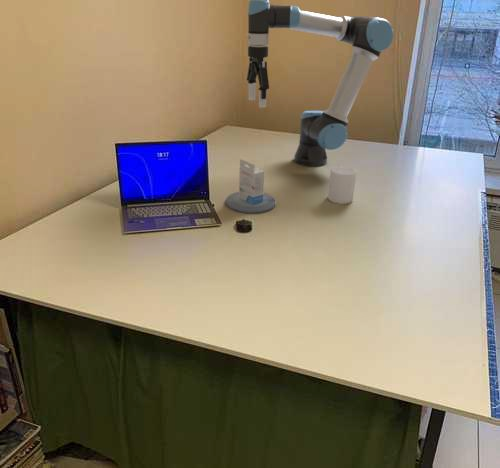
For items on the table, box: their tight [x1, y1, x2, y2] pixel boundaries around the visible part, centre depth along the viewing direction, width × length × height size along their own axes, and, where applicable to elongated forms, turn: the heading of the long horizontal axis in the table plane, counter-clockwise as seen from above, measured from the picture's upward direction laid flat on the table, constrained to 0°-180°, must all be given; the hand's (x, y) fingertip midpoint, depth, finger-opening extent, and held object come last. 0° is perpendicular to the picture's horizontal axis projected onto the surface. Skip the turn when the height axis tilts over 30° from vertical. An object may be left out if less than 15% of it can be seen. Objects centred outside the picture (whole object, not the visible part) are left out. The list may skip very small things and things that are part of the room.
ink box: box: [238, 158, 265, 205], centre depth 172 cm, size 8×5×15 cm, turn 39°
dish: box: [225, 191, 276, 215], centre depth 176 cm, size 18×18×1 cm
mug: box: [327, 165, 357, 205], centre depth 181 cm, size 10×12×12 cm
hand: (257, 103), depth 189 cm, fingers open, 13 cm apart
